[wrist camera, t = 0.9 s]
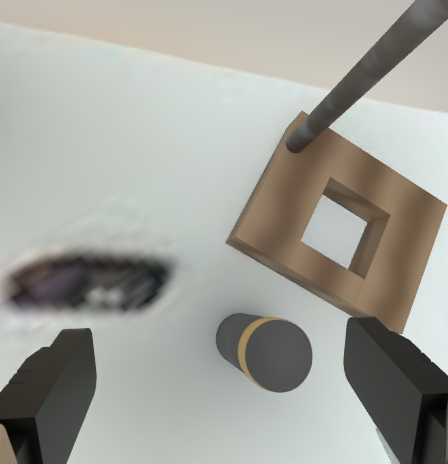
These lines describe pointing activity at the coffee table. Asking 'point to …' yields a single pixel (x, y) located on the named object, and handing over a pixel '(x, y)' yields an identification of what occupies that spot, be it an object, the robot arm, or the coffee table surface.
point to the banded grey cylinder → (266, 350)
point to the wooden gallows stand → (348, 196)
